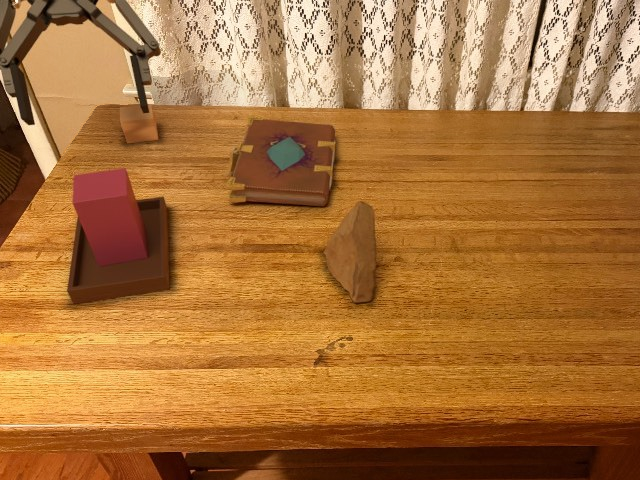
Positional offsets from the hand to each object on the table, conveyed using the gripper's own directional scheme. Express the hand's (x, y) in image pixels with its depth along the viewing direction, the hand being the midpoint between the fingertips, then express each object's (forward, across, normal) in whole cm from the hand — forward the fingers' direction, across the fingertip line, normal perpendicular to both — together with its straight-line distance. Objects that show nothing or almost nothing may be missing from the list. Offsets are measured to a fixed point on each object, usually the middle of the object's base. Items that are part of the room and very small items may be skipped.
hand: (88, 116), depth 74 cm
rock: (+26, +28, -5) cm, 39 cm away
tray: (+17, 0, +4) cm, 18 cm away
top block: (+17, 0, +3) cm, 17 cm away
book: (+6, +25, +15) cm, 30 cm away
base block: (-5, +4, +26) cm, 26 cm away
